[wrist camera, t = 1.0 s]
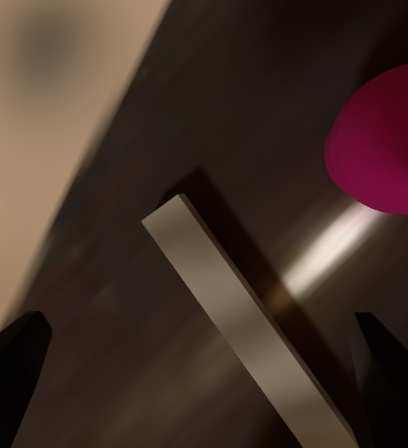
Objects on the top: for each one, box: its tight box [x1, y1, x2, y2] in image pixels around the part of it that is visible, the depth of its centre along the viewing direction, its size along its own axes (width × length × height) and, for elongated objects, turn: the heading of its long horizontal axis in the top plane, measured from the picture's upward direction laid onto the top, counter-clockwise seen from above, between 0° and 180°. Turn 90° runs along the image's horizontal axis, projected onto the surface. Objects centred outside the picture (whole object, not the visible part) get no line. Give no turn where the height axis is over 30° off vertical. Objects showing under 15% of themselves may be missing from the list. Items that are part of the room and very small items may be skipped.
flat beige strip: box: [141, 193, 359, 448], centre depth 23 cm, size 20×3×2 cm, turn 36°
